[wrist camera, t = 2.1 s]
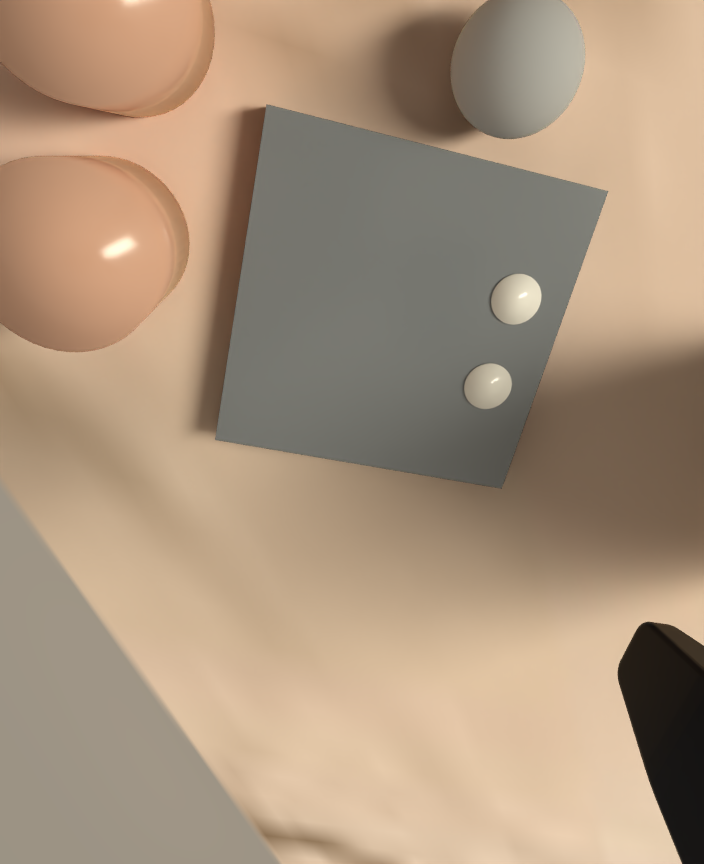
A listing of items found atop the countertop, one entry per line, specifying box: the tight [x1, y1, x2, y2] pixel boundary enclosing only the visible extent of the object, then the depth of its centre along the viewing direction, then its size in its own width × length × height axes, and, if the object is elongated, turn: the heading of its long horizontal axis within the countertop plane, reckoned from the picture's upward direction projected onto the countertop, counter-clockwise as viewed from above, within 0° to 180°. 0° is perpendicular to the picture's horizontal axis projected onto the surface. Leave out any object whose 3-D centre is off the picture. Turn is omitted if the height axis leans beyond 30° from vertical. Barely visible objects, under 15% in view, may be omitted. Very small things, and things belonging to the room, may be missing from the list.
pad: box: [215, 105, 608, 489], centre depth 18 cm, size 9×9×1 cm
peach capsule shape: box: [0, 156, 189, 352], centre depth 15 cm, size 4×4×4 cm
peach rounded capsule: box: [0, 0, 215, 118], centre depth 13 cm, size 4×4×4 cm
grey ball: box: [450, 0, 585, 139], centre depth 15 cm, size 3×3×3 cm
